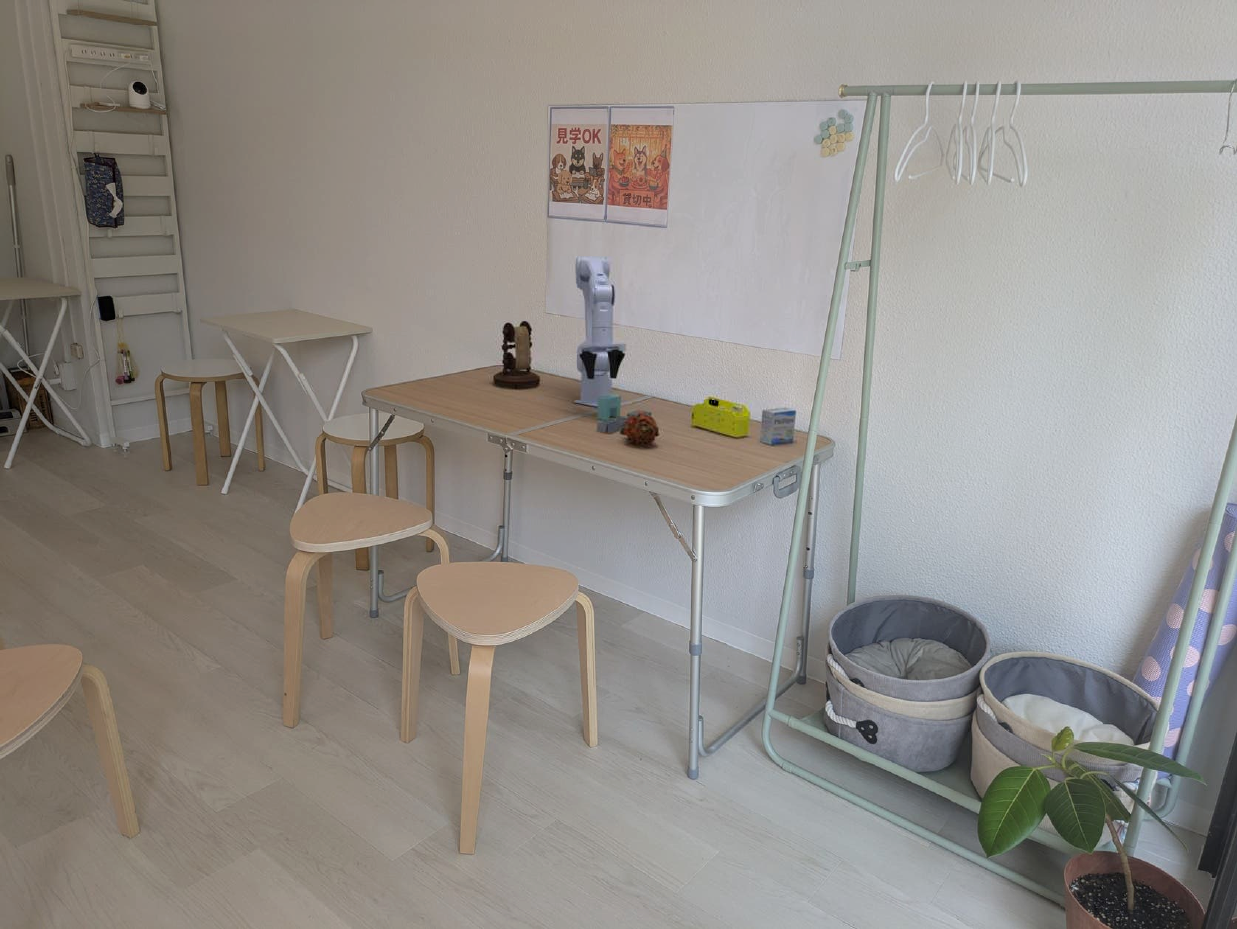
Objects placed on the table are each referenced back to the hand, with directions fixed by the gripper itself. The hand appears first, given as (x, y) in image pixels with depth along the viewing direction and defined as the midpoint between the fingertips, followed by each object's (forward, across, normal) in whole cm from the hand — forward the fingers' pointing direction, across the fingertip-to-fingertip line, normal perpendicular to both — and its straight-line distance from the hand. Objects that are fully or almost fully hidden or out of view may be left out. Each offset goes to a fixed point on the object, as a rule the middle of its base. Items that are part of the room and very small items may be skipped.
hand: (601, 378), depth 252 cm
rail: (+13, +6, +1) cm, 14 cm away
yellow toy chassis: (+15, +29, +14) cm, 35 cm away
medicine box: (+17, +45, +16) cm, 50 cm away
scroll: (0, -46, +17) cm, 49 cm away
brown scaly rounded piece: (+17, +19, -10) cm, 28 cm away
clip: (+11, -1, +5) cm, 12 cm away
